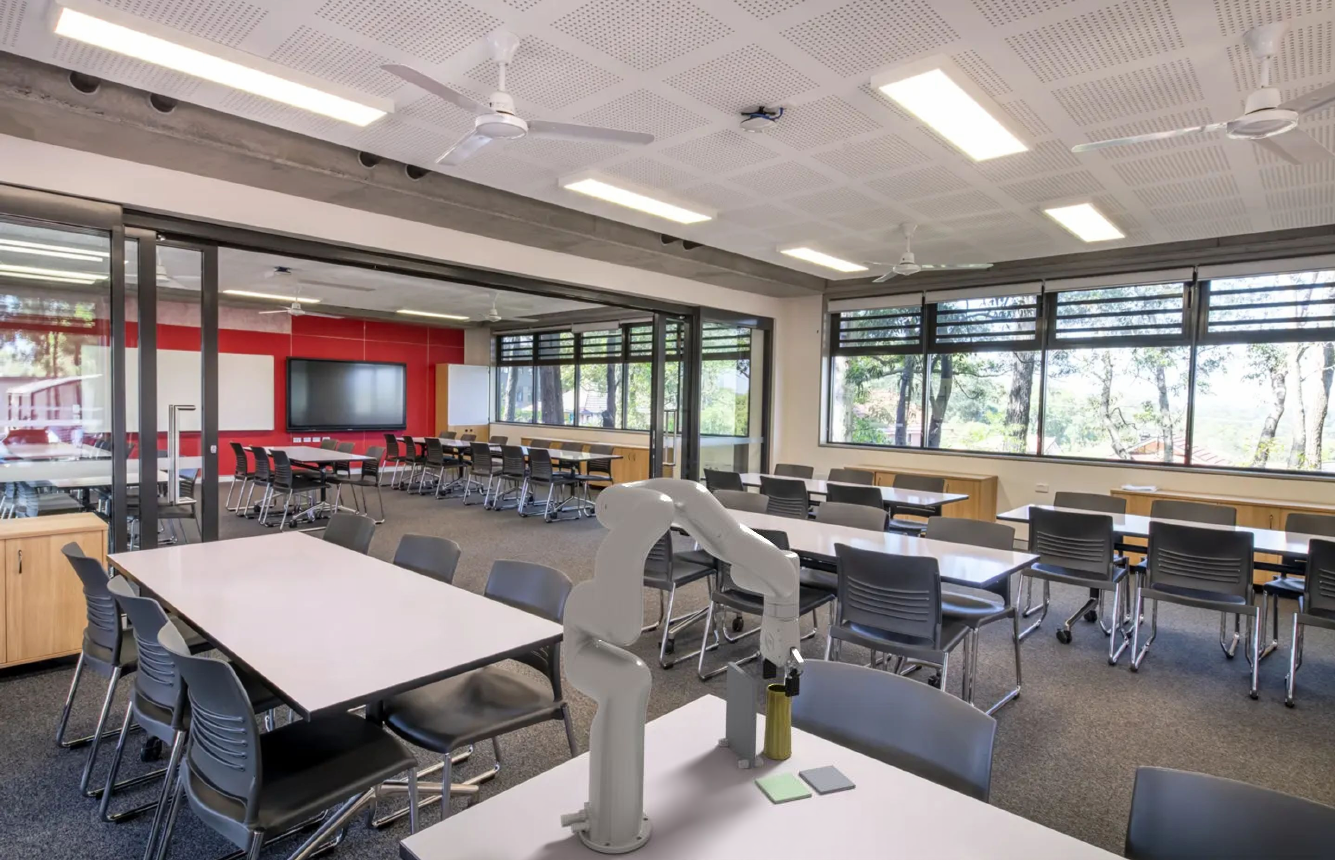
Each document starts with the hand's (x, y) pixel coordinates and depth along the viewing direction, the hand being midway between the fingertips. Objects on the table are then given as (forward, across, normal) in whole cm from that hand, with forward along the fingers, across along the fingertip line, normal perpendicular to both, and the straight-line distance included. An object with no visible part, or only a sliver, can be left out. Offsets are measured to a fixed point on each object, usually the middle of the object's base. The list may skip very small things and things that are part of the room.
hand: (780, 686), depth 150 cm
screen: (+14, -2, -9) cm, 17 cm away
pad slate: (+14, +13, +3) cm, 20 cm away
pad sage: (+14, +13, -7) cm, 21 cm away
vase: (+15, 0, -1) cm, 15 cm away
